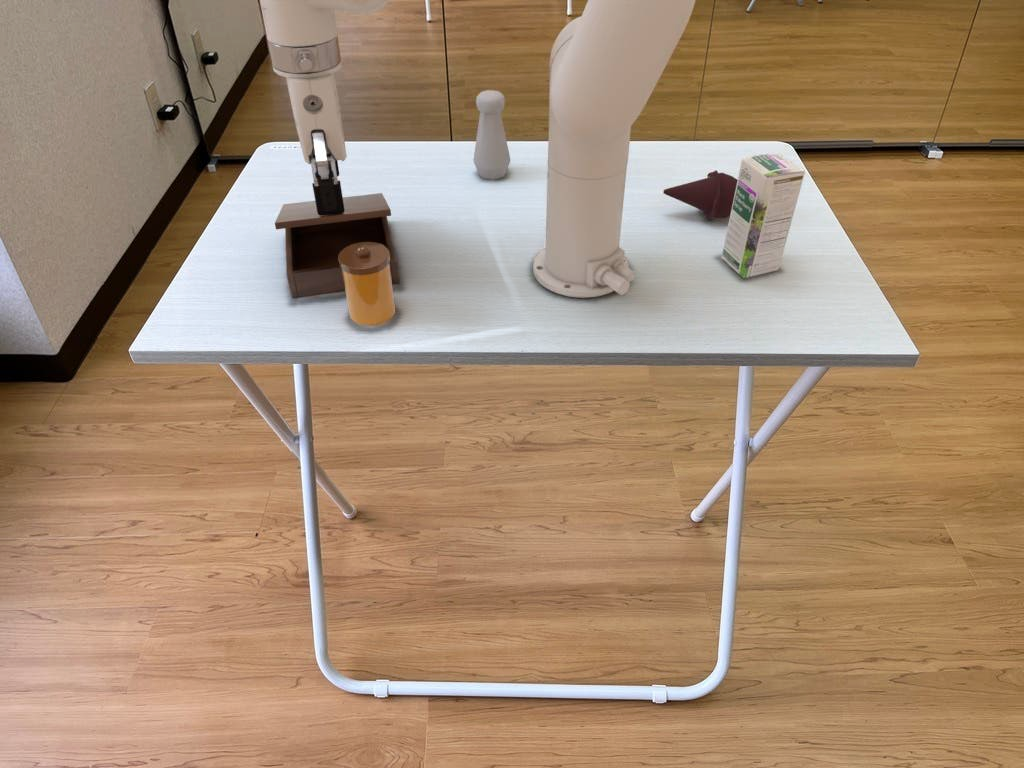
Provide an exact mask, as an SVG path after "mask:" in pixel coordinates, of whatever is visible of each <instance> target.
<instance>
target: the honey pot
mask: <svg viewBox="0 0 1024 768" xmlns="http://www.w3.org/2000/svg"><path fill="white" fill-rule="evenodd" d="M338 261H339V266H340V268H341V270H342V276H343V281H344V287H345V292H344V293H345V298H346V304H347V309H348V314H349V318H350V320H351V321H353V322H354V323H356V324H358V325H361V326H368V327H369V326H378V325H381V324H384V323H387V322H388V321H390V320H391V319H392V318H393V317H394V316H395V314H396V303H395V296H394V288H393V285H392V280H391V272H390V264H389V262H390V254H389V250H388V249H387V248H386V247H385V246H384V245H382V244H379V243H375V242H360V243H355V244H352V245H349V246H347V247H346V248H344V249H343V250H342V251H341V252H340V253H339V256H338Z"/></svg>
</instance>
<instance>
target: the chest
mask: <svg viewBox="0 0 1024 768" xmlns="http://www.w3.org/2000/svg"><path fill="white" fill-rule="evenodd" d="M284 232H285V233H284V234H285V265H286V267H285V268H286V269H285V270H286V278H287V283H288V286H289V291H290V296H291V299H299V298H307V297H308V298H309V297H315V296H322V295H330V294H338V293H346V292H345V287H344V281H343V276H342V270H341V268H340V266H339V261H338V256H339V253H340V252H341V251H342V250H343V249H344V248H346V247H347V246H349V245H352V244H355V243H360V242H375V243H379V244H382V245H384V246H385V247H386V248H387V249H388V250H389V254H390V262H389V264H390V272H391V280H392V286H397V285H400V283H401V282H400V275H399V265H398V259H397V255H396V251H395V247H394V246H395V245H394V242H393V237H392V233H391V228H390V223H389V219H388V216H385V217H377V218H368V219H360V220H351V221H343V222H335V223H326V224H318V225H309V226H301V227H293V228H284Z"/></svg>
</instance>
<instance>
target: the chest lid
mask: <svg viewBox="0 0 1024 768" xmlns="http://www.w3.org/2000/svg"><path fill="white" fill-rule="evenodd" d="M342 197H343V196H342ZM343 203H344V209H345V211H344V213H339V214H331V215H322V216H321V215H318V213H317V207H316V202H315V200H310V201H309V200H308V201H301V202H300V201H299V202H291V203H284V204H282V206H281V209H280V211H279V213H278V215H277V218H276V219H275V222H274V227H275V230H283V229H284V230H285V228H293V227H301V226H309V225H318V224H326V223H335V222H343V221H351V220H360V219H368V218H377V217H385V216H387V217H391V216H392V211H391V208H390V206H389V204H388V202H387V200H386V198H385V195H384V194H383V192H381V193H380V192H379V193H370V194H361V195H353V196H345V197H343Z"/></svg>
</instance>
